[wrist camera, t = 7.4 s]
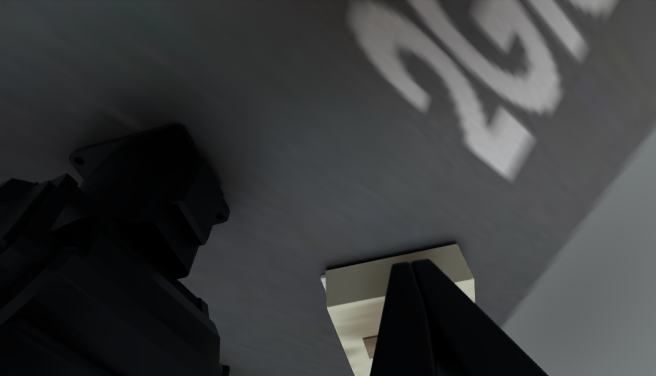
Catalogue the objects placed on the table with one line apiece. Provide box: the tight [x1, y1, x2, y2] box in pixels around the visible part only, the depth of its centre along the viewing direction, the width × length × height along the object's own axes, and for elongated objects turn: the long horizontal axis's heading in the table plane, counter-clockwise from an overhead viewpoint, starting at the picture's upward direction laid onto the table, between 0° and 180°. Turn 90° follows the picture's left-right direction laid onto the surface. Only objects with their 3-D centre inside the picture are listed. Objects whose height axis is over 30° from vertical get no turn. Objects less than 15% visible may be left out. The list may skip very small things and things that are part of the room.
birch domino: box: [325, 244, 475, 376], centre depth 26 cm, size 9×3×9 cm
